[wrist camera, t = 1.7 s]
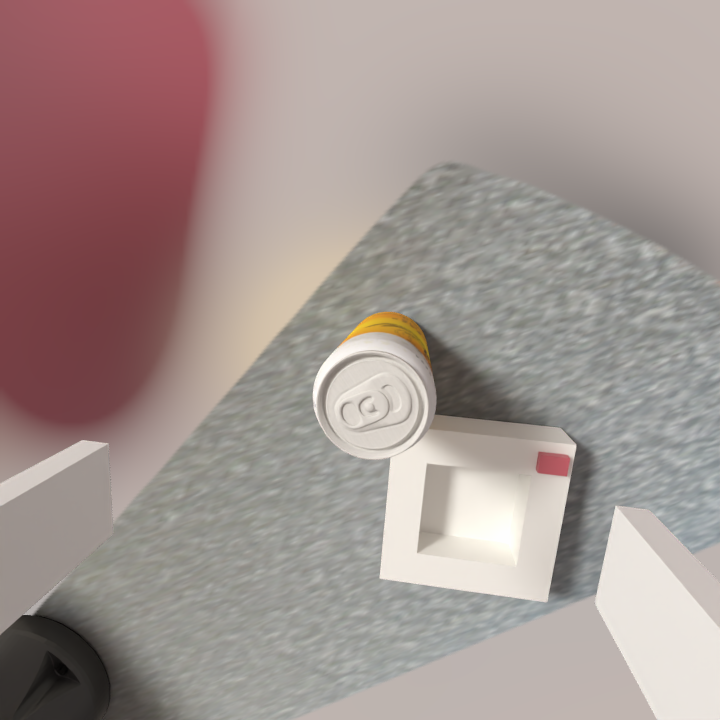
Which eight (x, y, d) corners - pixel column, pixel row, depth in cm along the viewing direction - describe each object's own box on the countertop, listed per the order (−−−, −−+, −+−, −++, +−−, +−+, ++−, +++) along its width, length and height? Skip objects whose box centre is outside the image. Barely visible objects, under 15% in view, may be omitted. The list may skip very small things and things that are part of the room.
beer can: (439, 369, 35) (458, 442, 21) (368, 397, 36) (339, 484, 22) (409, 298, 34) (407, 321, 20) (338, 328, 35) (286, 372, 21)
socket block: (382, 551, 39) (379, 583, 35) (395, 410, 36) (393, 428, 32) (534, 571, 38) (549, 608, 34) (560, 427, 35) (579, 448, 31)
